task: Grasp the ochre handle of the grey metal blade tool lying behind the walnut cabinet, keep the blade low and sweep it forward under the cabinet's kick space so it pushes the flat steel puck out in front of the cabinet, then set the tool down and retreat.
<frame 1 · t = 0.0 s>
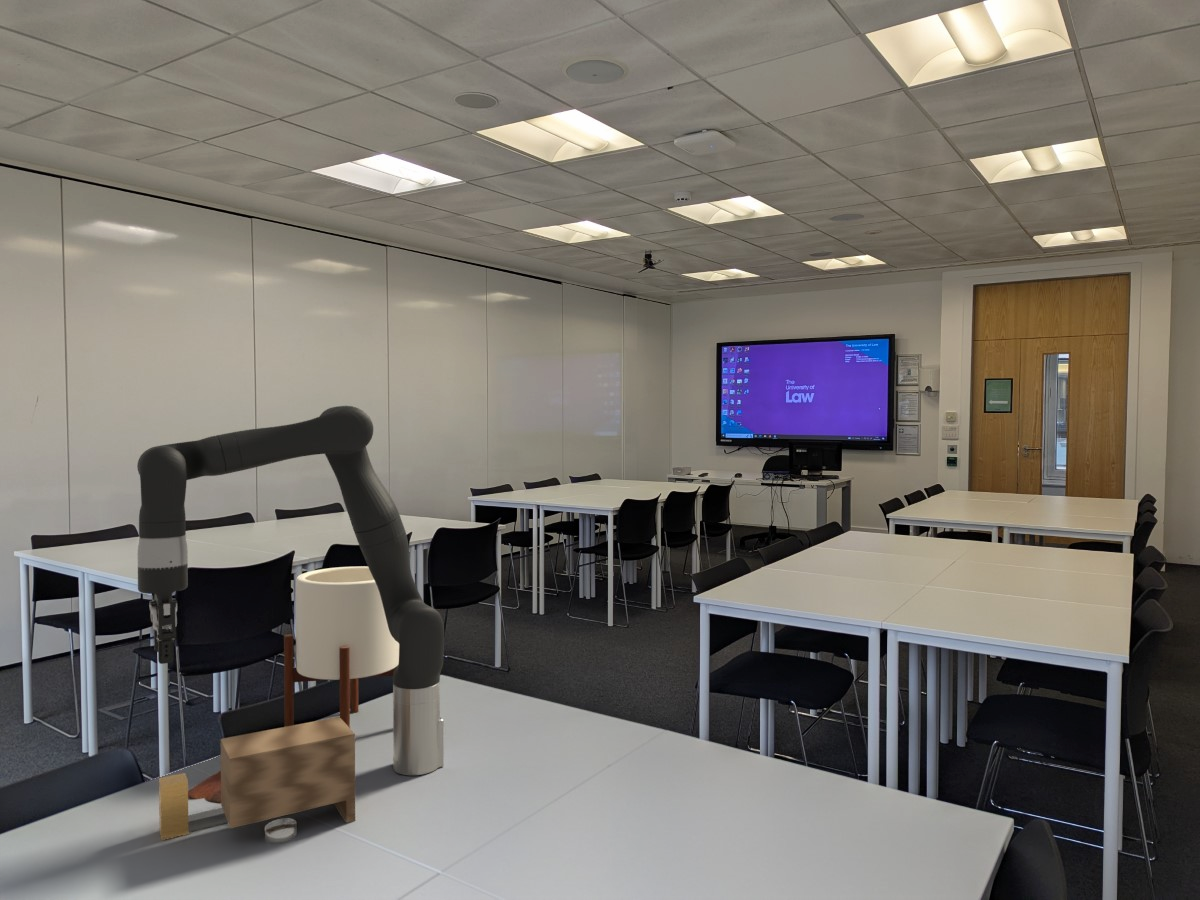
hand: (163, 656, 137), 29 cm above the table, fingers open, 8 cm apart
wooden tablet: (249, 775, 160), on the table
plant pot with stand: (349, 731, 182), on the table
steel token: (280, 837, 134), on the table
walnut cabinet: (288, 824, 138), on the table
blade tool: (173, 832, 136), on the table
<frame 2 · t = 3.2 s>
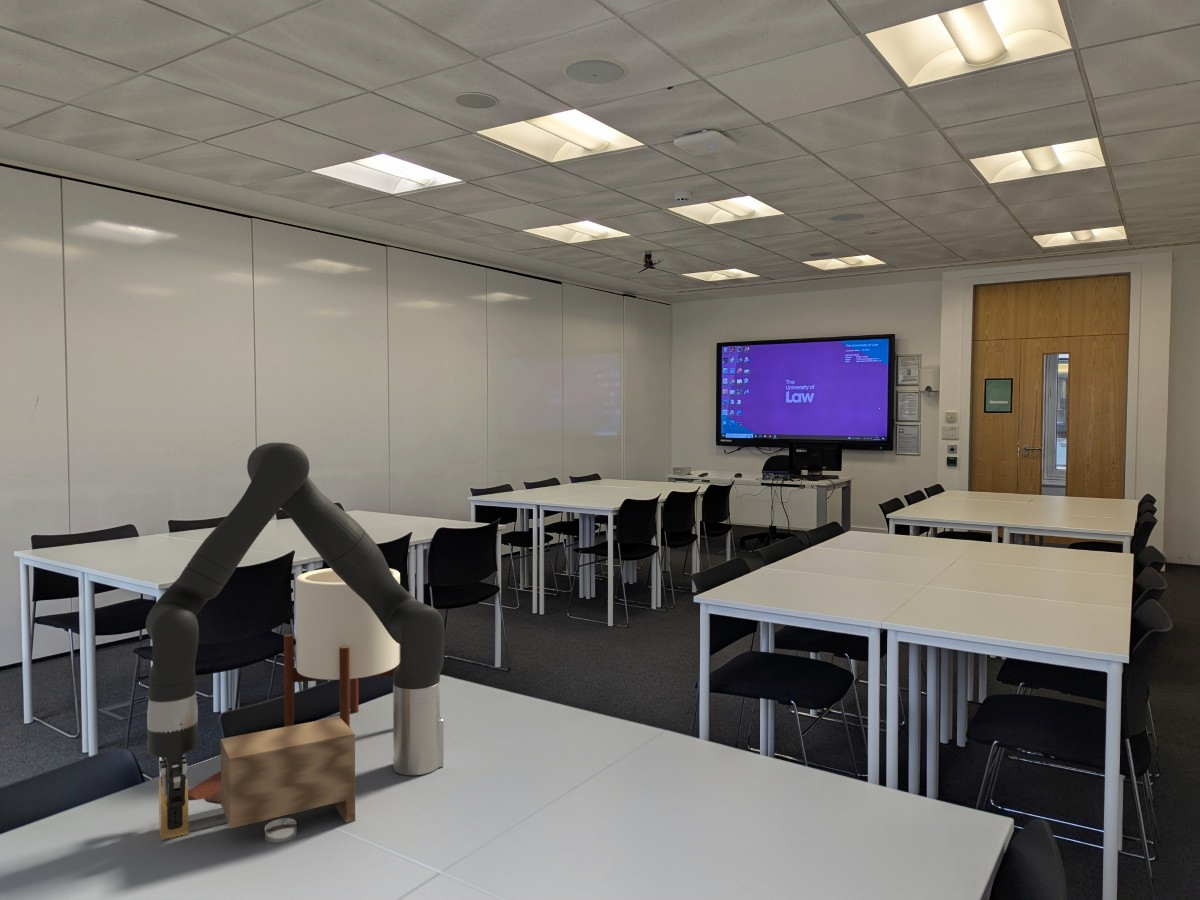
hand: (173, 821, 135), 2 cm above the table, fingers closed on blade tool, 4 cm apart
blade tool: (173, 832, 136), on the table, touching gripper
everything else where it was.
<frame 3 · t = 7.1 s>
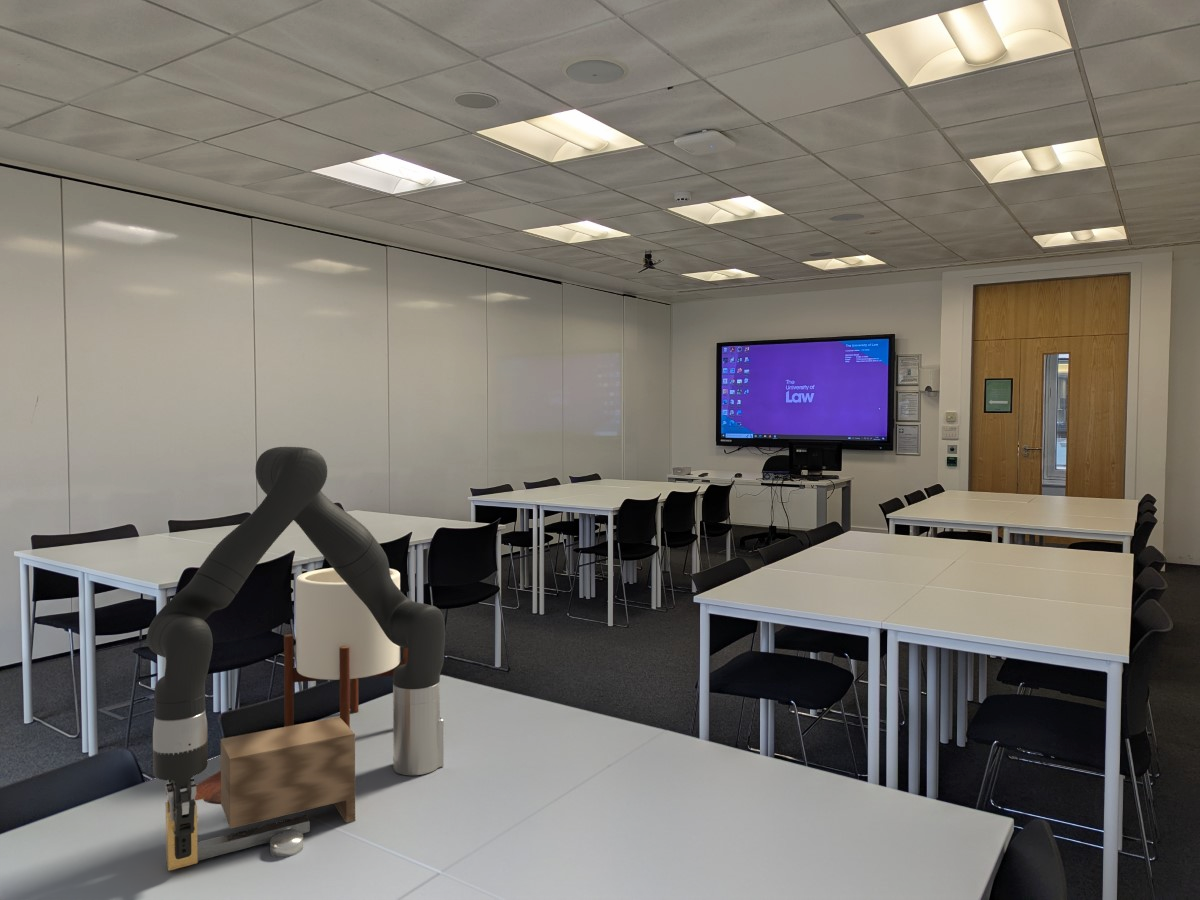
hand: (181, 849, 125), 2 cm above the table, fingers closed on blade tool, 4 cm apart
steel token: (286, 850, 130), on the table, touching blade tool
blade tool: (181, 861, 125), point 1 cm above the table, touching gripper, steel token
everything else where it was.
when the fingers open (2 cm above the table, at t = 8.3 s): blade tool stays where it is, on the table.
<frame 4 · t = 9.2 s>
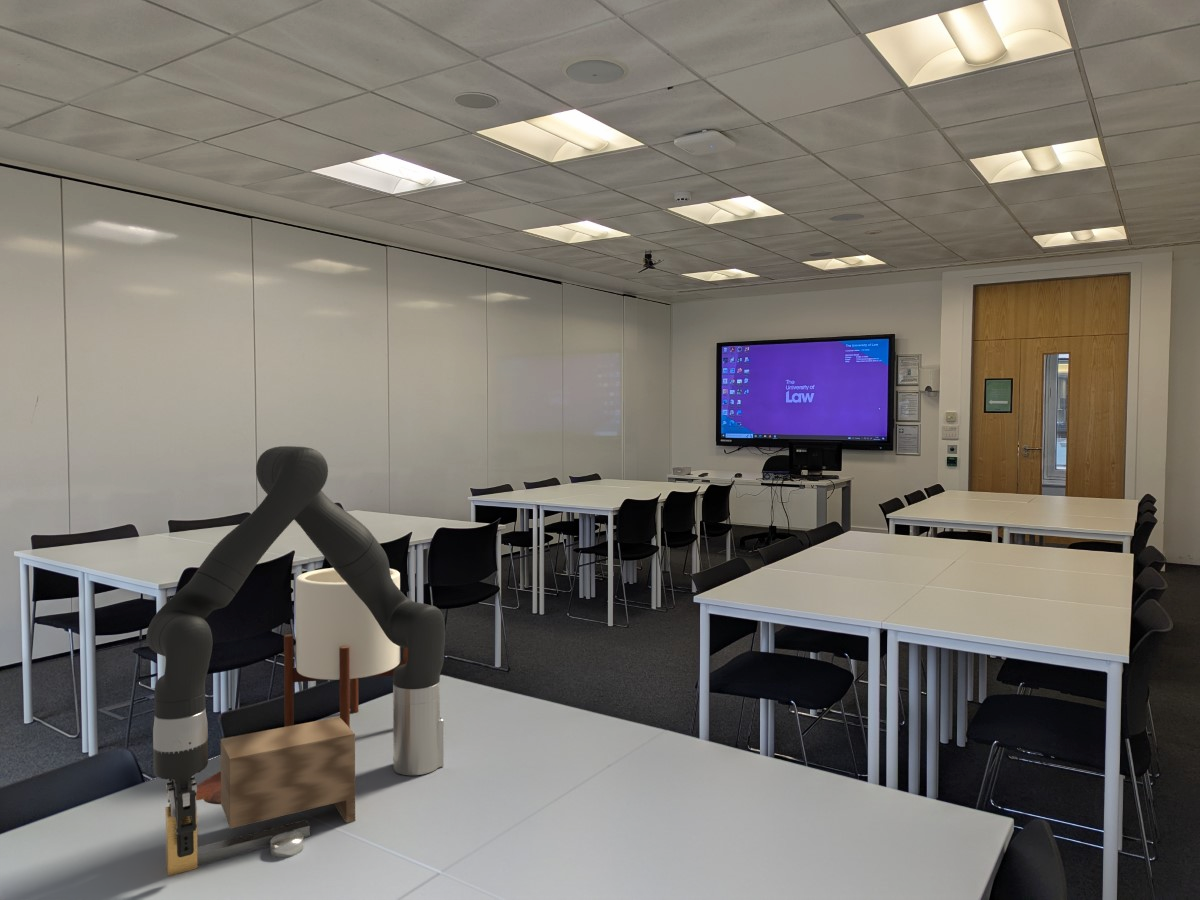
hand: (182, 842, 125), 4 cm above the table, fingers open, 8 cm apart
steel token: (287, 851, 130), on the table
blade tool: (181, 866, 125), on the table
everything else where it was.
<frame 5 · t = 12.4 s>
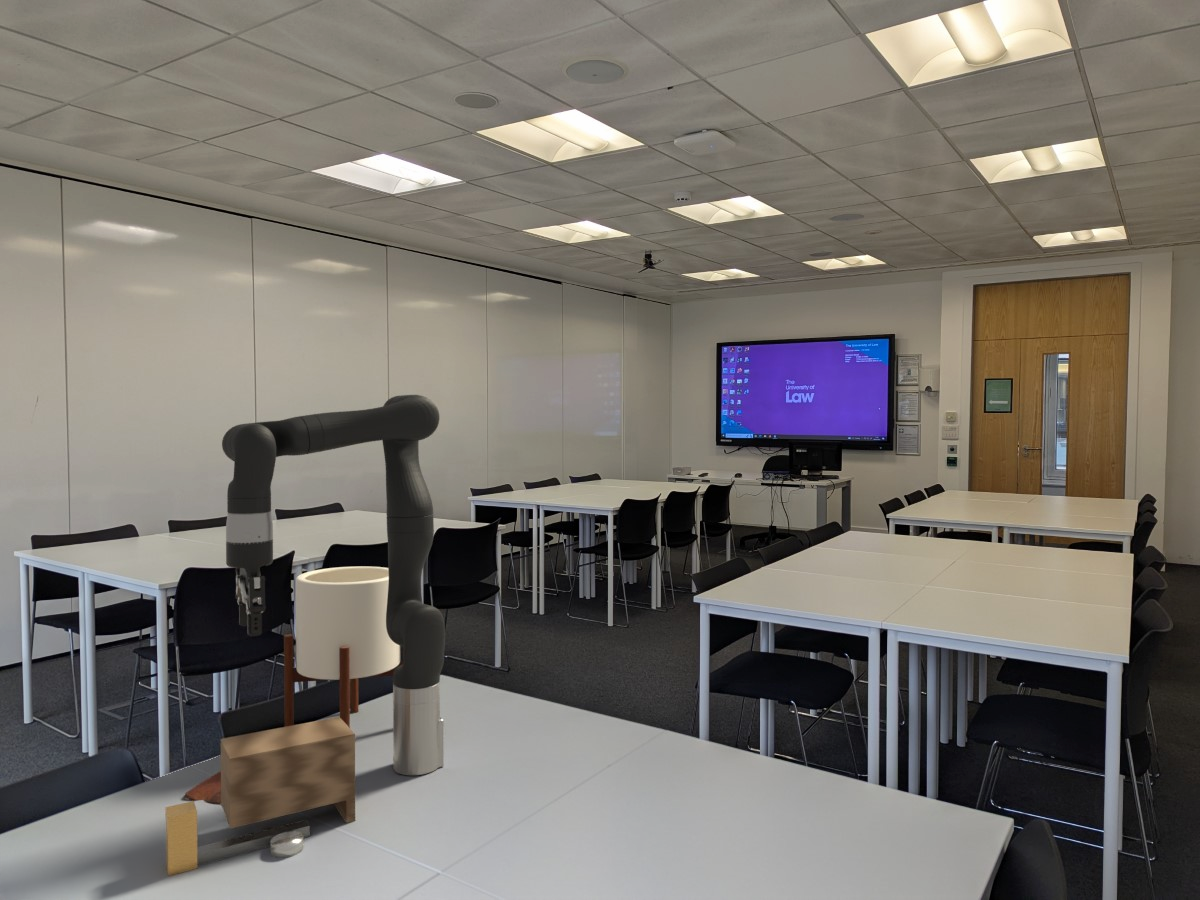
hand: (250, 630, 140), 33 cm above the table, fingers open, 8 cm apart
nothing on the table moved.
at the end: steel token inside the target area (5.0 cm from its centre), on the table; steel token tilted 0° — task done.
